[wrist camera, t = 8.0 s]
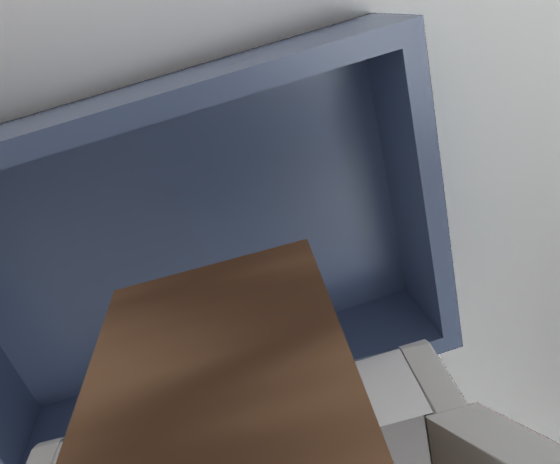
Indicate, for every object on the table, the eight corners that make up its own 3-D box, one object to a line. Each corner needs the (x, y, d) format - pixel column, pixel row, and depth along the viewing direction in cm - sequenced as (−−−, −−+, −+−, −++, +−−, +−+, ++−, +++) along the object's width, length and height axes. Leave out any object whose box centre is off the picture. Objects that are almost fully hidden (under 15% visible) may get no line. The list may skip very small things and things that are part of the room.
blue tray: (373, 12, 15) (422, 15, 12) (418, 290, 19) (462, 346, 16) (-131, 163, 14) (-221, 207, 11) (35, 414, 19) (5, 496, 16)
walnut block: (306, 238, 10) (415, 518, 5) (341, 385, 12) (450, 711, 6) (114, 289, 10) (-1, 632, 5) (177, 429, 12) (148, 794, 6)
